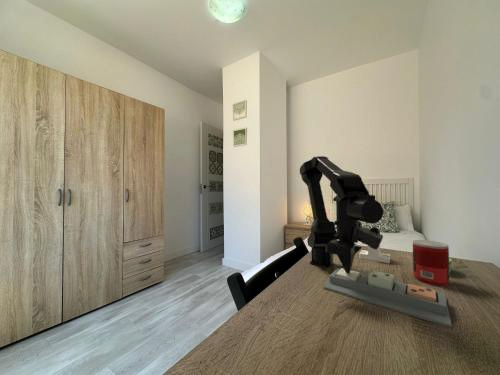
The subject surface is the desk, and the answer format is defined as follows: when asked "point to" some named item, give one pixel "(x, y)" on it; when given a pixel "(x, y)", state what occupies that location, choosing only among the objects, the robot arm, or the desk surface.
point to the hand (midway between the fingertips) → (347, 272)
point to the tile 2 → (381, 280)
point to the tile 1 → (348, 275)
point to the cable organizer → (374, 255)
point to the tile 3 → (421, 292)
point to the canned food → (431, 262)
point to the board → (393, 298)
